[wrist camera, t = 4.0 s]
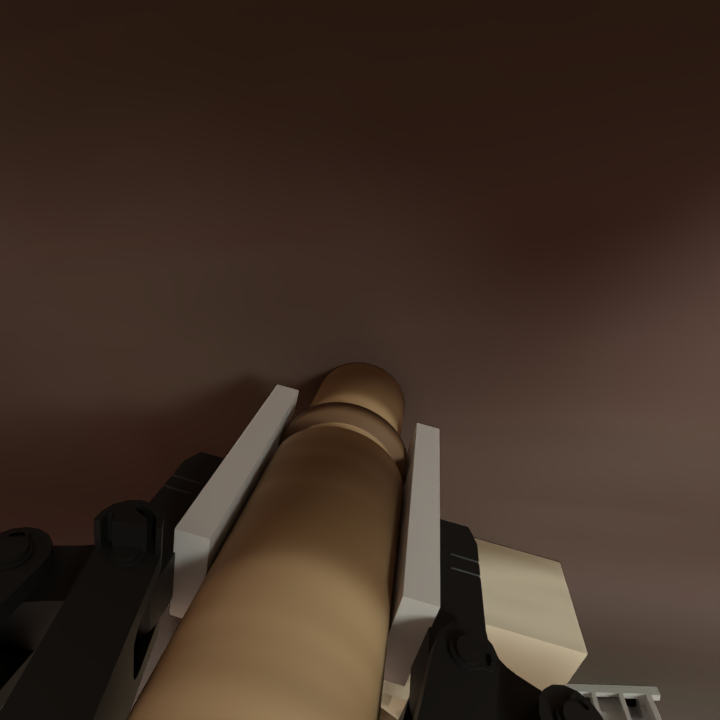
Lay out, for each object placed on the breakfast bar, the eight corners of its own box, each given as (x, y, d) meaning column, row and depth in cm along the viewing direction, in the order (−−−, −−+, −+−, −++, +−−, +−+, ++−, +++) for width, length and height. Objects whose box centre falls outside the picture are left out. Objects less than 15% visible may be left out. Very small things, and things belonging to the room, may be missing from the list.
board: (248, 473, 20) (207, 542, 17) (559, 562, 20) (587, 654, 16) (215, 701, 28) (182, 782, 24) (438, 771, 27) (438, 865, 24)
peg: (319, 342, 17) (-16, 864, 4) (426, 370, 17) (392, 1004, 4) (302, 431, 19) (24, 987, 6) (398, 458, 19) (314, 1090, 6)
